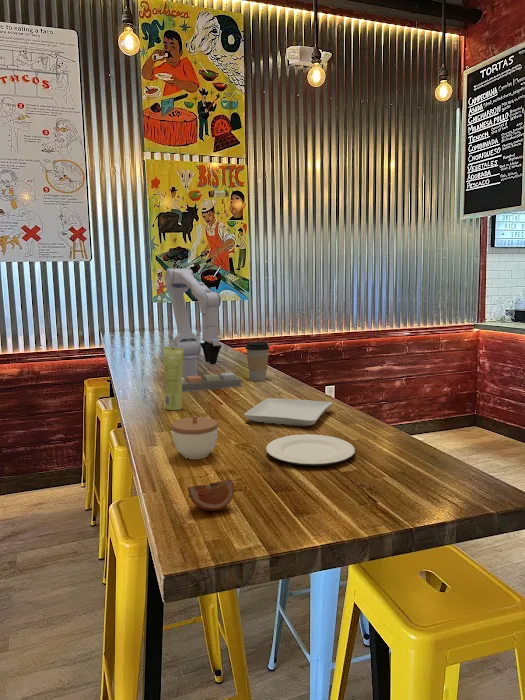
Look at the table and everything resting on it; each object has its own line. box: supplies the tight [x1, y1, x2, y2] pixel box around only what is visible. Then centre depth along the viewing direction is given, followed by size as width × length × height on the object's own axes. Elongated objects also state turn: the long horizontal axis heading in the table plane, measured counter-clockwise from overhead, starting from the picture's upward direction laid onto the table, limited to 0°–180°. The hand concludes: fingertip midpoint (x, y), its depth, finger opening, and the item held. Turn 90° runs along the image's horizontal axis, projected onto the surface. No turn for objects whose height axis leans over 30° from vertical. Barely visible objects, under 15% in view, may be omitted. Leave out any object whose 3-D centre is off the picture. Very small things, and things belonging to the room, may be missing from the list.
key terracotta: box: [186, 374, 203, 383], centre depth 196 cm, size 5×5×2 cm
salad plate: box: [243, 397, 333, 427], centre depth 159 cm, size 21×21×3 cm
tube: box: [162, 346, 184, 411], centre depth 169 cm, size 6×5×20 cm
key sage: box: [202, 373, 220, 382], centre depth 198 cm, size 5×5×2 cm
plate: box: [265, 433, 356, 467], centre depth 128 cm, size 21×21×2 cm
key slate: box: [219, 372, 237, 380], centre depth 201 cm, size 5×5×2 cm
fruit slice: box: [187, 479, 235, 512], centre depth 99 cm, size 8×7×5 cm
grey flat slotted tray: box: [162, 376, 244, 393], centre depth 198 cm, size 12×27×3 cm, turn 112°
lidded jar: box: [171, 415, 219, 460], centre depth 127 cm, size 11×11×9 cm
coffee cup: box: [244, 341, 271, 382], centre depth 209 cm, size 9×9×15 cm
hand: (210, 363), depth 198 cm, fingers open, 5 cm apart
